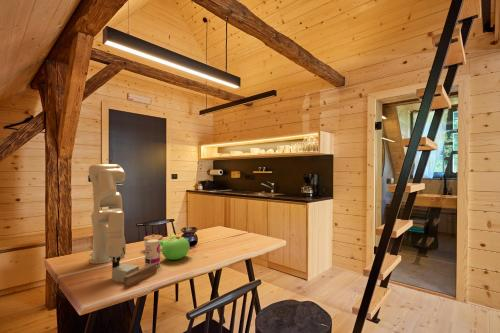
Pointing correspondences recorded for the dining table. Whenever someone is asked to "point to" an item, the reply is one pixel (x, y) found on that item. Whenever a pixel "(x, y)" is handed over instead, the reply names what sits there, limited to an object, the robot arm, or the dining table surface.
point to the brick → (123, 271)
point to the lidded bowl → (153, 238)
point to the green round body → (175, 247)
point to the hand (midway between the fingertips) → (115, 268)
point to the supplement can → (152, 252)
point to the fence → (139, 275)
